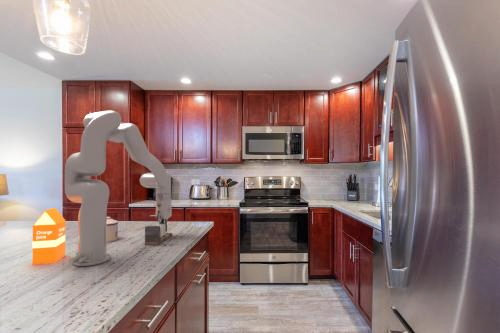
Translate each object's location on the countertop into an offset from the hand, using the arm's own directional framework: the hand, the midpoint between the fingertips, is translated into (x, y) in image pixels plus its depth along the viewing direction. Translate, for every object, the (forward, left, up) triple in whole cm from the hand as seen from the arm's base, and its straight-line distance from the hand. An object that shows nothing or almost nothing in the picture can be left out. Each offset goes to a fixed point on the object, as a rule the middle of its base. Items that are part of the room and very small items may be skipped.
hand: (163, 231), depth 136 cm
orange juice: (-36, +31, -3) cm, 47 cm away
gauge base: (-5, 0, -3) cm, 6 cm away
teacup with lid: (-6, +27, -3) cm, 28 cm away
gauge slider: (-6, 0, -1) cm, 6 cm away
